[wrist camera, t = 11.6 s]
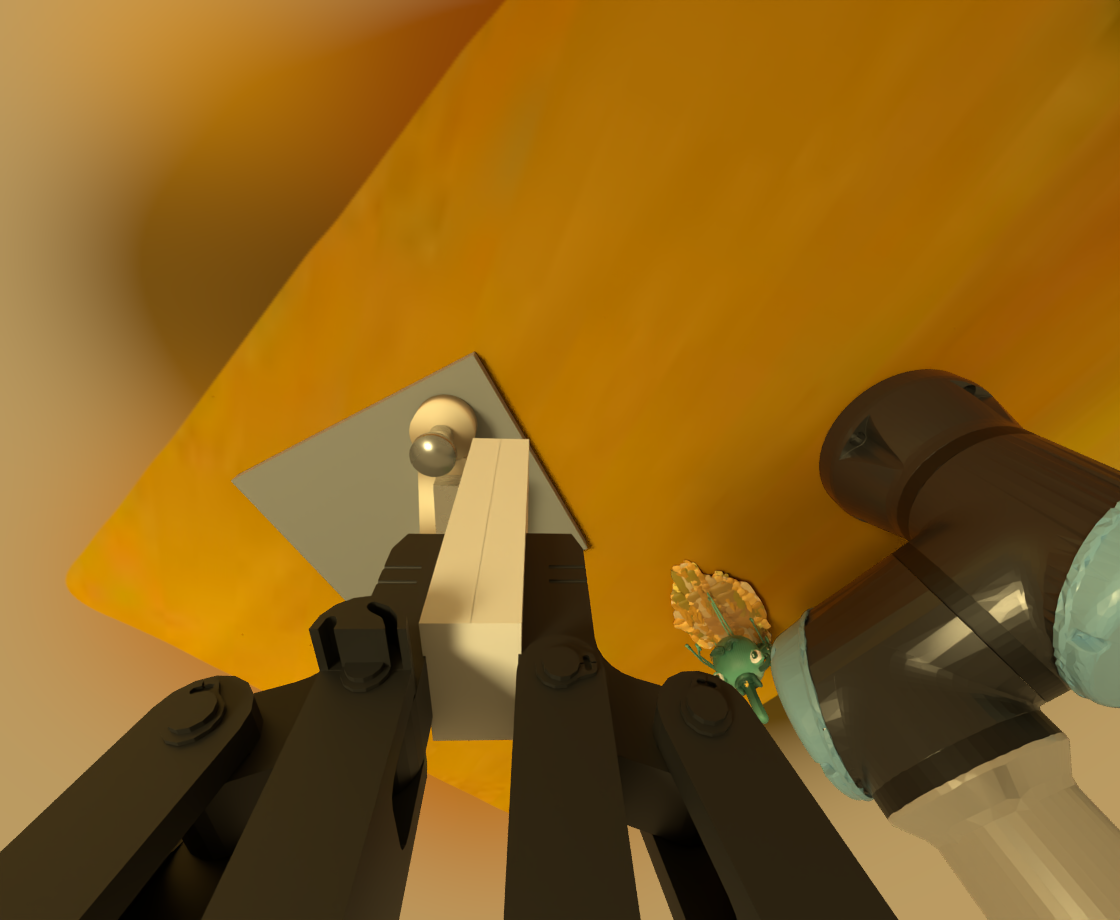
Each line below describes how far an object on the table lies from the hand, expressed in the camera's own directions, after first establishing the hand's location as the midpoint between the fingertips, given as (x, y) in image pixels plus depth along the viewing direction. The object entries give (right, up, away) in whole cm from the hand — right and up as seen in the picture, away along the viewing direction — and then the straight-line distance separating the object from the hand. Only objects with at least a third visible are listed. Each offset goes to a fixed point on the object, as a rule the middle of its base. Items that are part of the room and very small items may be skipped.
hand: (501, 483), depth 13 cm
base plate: (-12, -4, +33) cm, 36 cm away
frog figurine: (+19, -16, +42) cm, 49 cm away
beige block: (-7, +1, +31) cm, 32 cm away
